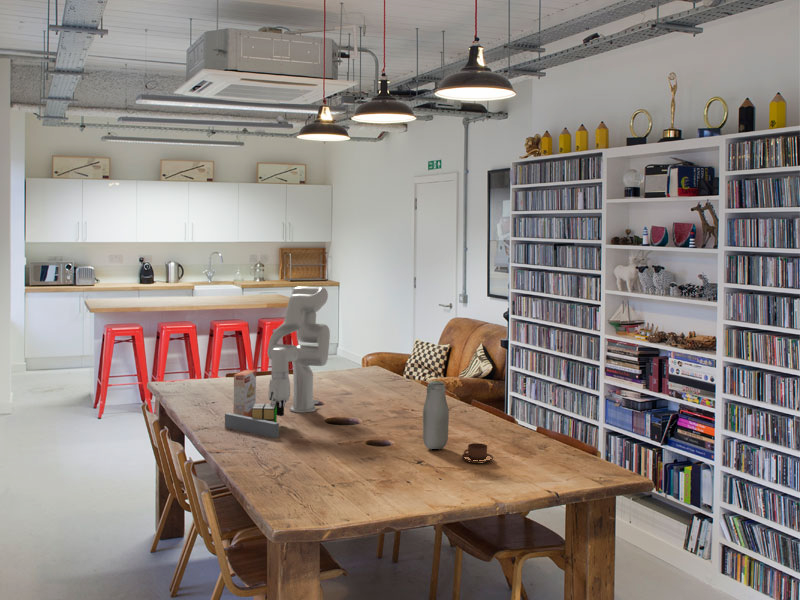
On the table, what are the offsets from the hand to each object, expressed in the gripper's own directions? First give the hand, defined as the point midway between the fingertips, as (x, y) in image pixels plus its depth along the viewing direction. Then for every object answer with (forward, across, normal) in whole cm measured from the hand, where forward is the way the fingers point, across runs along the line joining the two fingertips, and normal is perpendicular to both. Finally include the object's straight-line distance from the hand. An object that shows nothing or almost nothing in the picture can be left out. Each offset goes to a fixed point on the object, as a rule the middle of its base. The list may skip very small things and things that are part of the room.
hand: (280, 415), depth 371 cm
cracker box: (+4, -1, -23) cm, 23 cm away
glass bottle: (+4, -8, +77) cm, 78 cm away
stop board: (+4, +18, 0) cm, 19 cm away
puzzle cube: (+4, +10, 0) cm, 11 cm away
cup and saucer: (+4, -4, +99) cm, 99 cm away
